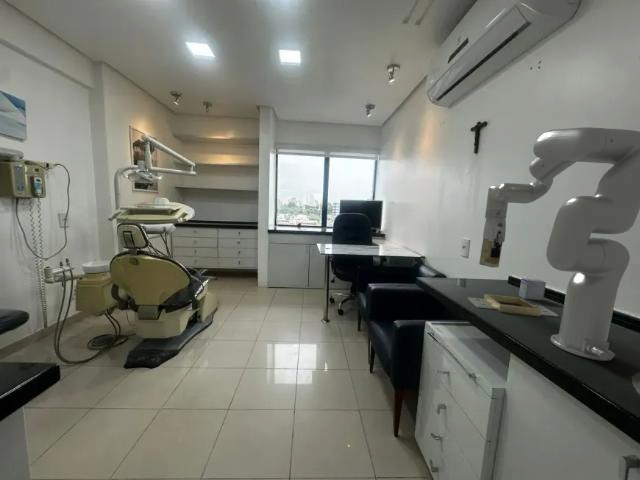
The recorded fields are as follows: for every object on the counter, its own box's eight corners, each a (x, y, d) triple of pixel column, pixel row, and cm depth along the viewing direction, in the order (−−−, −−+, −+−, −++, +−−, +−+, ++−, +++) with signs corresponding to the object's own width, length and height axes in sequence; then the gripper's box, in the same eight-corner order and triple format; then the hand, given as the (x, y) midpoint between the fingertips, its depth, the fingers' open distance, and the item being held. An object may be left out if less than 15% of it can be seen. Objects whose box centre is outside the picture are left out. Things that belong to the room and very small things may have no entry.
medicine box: (536, 297, 123) (539, 279, 122) (543, 300, 119) (546, 281, 118) (518, 295, 124) (521, 277, 123) (524, 299, 120) (527, 280, 119)
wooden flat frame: (561, 318, 98) (562, 312, 97) (479, 309, 103) (479, 302, 102) (538, 305, 111) (539, 299, 111) (466, 297, 116) (467, 292, 116)
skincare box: (478, 264, 117) (482, 237, 116) (486, 264, 119) (489, 237, 118) (492, 267, 111) (495, 238, 110) (499, 267, 113) (503, 239, 111)
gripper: (516, 215, 104) (510, 260, 105) (495, 215, 121) (490, 254, 122) (495, 214, 105) (490, 258, 107) (477, 214, 122) (473, 252, 124)
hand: (490, 256), depth 115 cm, fingers closed on skincare box, 7 cm apart
